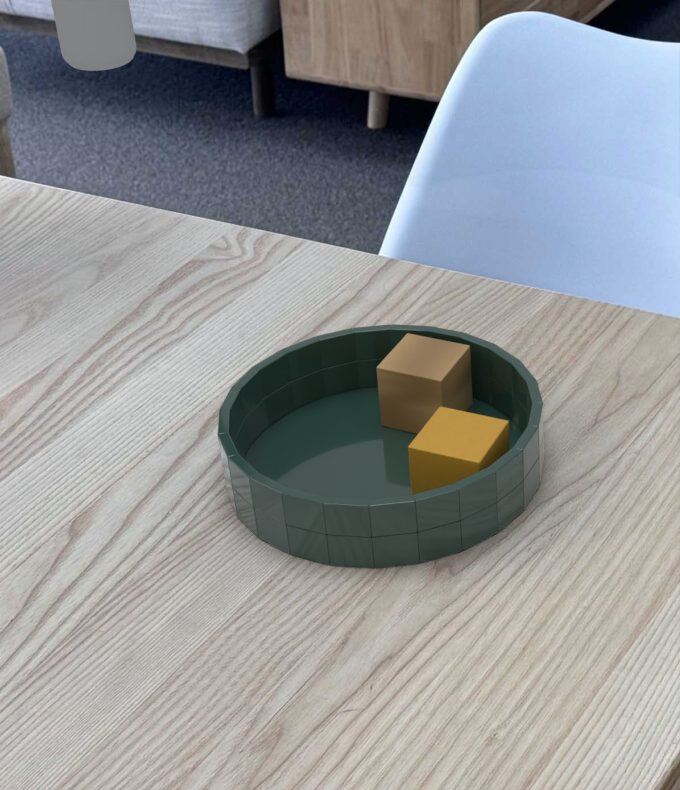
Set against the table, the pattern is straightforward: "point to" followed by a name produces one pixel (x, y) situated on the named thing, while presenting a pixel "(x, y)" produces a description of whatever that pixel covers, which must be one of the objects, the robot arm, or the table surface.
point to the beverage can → (95, 33)
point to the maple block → (423, 381)
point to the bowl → (368, 453)
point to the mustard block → (455, 448)
